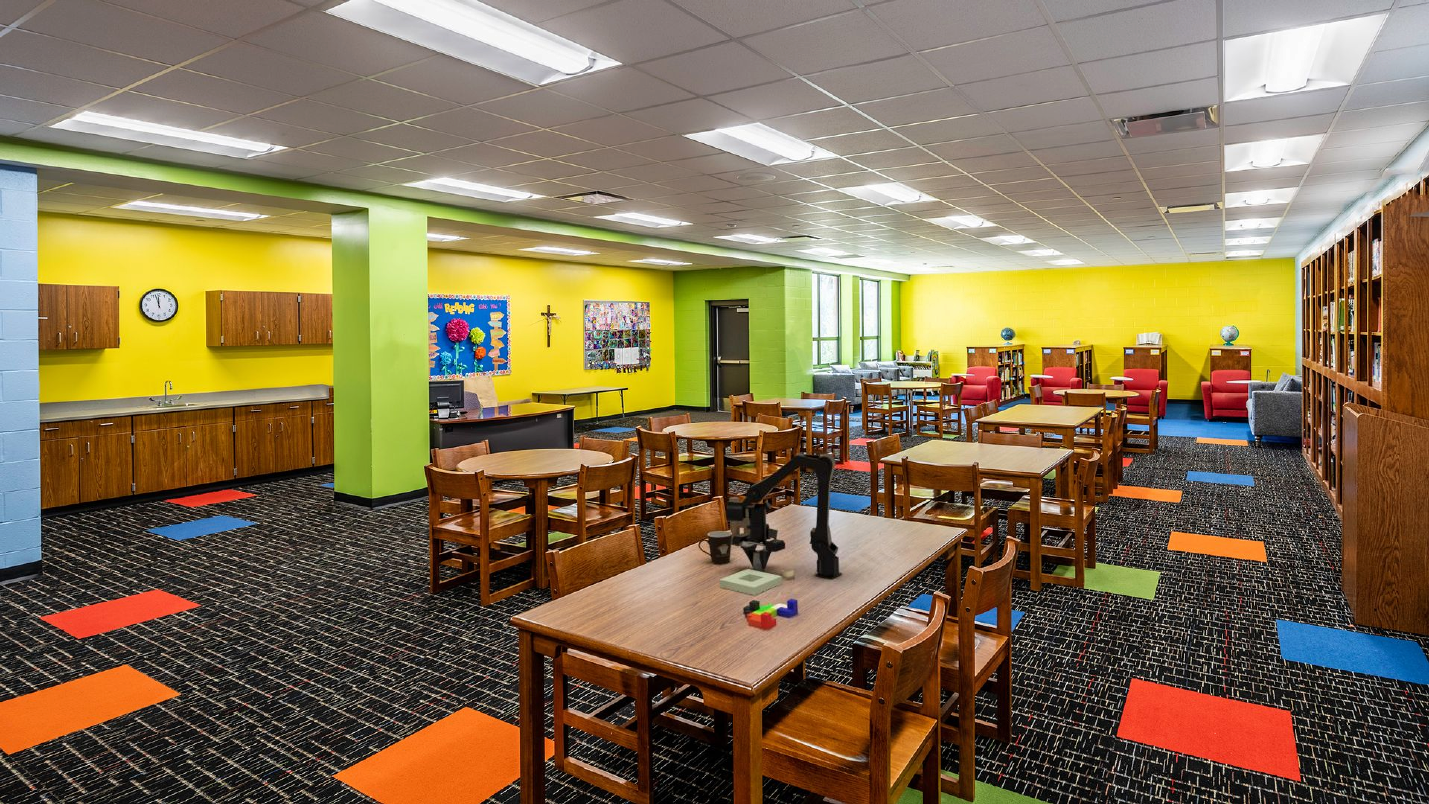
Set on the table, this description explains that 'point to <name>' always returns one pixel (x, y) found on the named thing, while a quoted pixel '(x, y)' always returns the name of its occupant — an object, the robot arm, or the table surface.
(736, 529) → the wooden block
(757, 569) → the long steel pin
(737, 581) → the hole board
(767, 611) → the building blocks
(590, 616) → the table surface
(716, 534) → the coffee mug
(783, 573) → the short birch pin
